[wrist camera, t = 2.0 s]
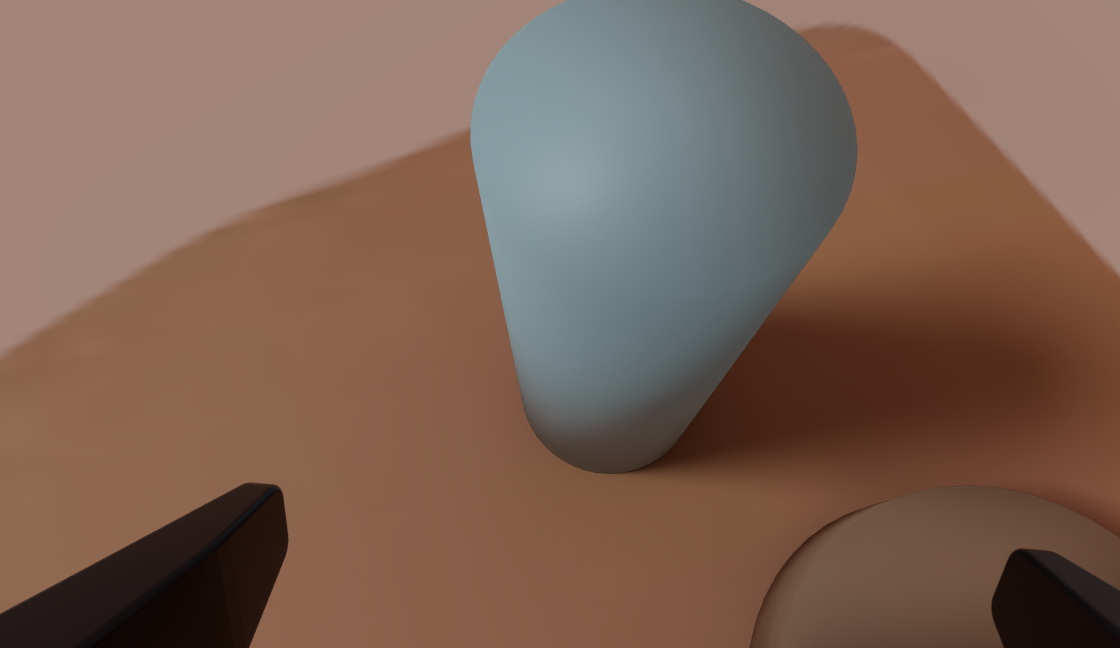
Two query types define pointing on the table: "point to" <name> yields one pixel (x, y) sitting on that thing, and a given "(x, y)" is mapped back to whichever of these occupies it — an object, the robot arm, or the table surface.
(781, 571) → the walnut base
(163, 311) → the table surface
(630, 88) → the blue-grey cylinder
